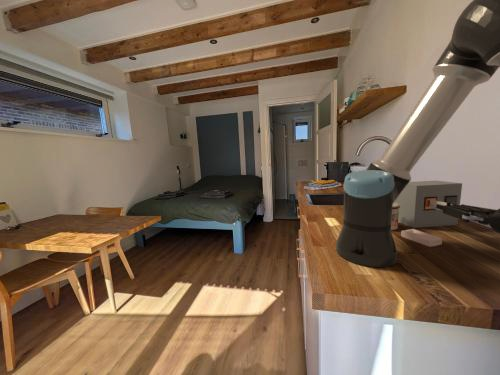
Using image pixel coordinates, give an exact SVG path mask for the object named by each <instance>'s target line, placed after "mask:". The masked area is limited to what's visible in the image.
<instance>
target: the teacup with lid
mask: <svg viewBox="0 0 500 375" xmlns="http://www.w3.org/2000/svg"><path fill="white" fill-rule="evenodd" d="M399 208H400V205H399V204H397V203H393V206H392V220H391V231H395V230H397V229H399V222H398V217H399Z"/></svg>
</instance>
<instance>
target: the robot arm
mask: <svg viewBox="0 0 500 375" xmlns="http://www.w3.org/2000/svg"><path fill="white" fill-rule="evenodd" d="M498 69H500V0H472V1H471V2H470V3H469V4H468V5H467V6H466V7H465V8H464V9H463V10H462V12H461V14H460V15H459V16H458V18H457V20H456V22H455V23H454V27H453V31H452V35H451V39H450V41H449V43H448V45H447V46H446V48H445V49H444V51H442V54H441V55H440V56H439V57H438V60H437V61H436V63H435V64H434V66H433V68H432V73H433V79H432V80H431V82H430V84H429V85H428V86H427V88H426V89H425V91H424V92H423V94H422V95H421V97H420V99H419V100H418V101H417V103H416V104H415V105H414V107H413V109H412V111H411V112H410V113H409V115H408V116H407V118H406V119H405V121H404V122H403V124H402V125H401V127H400V128H399V130H398V131H397V133H396V134H395V136H394V137H393V139H392V140H391V141H390V143H389V145H387V148H386V149H385V151H384V152H383V154H382V155H381V157H380V158H378V159H376V160H373V161H371V162H370V164H369V165H368V167H367V168H366V169H365V170H358V171H353V172H348V173H347V174H346V175H345V177H344V182H343V184H342V185H343V186H342V187H343V206H342V207H343V209H342V210H343V212H342V213H343V214H342V216H343V218H342V227H341V230H340V232H339V234H338V236H337V237H338V238H337V239H336V243H335V251H336V253H337V254H338V255H339V256H340V257H341V258H343V259H345V260H347V261H349V262H351V263H354V264H355V265H356V264H357V265H360V266H365V267H372V268H385V267H391V266H393V265H395V264H397V262H398V249H397V247H396V244H395V243H396V242H395V240H394V236H393V234H392V230H391V220H392V206H393V203H394V201H395V200H396V199H397V198H398V196H399V194H400V193H401V192H402V191H403V189H404V188H405V187H406V186H407V184H408V183H409V182H411V181H412V175H411V173H410V172H411V171H412V170H413V168H414V167H415V165H416V164H417V163H418V162H419V161H420V159H421V158H422V156H423V155H424V153H426V151H427V150H428V148H429V147H430V146H431V145H432V143H433V142H434V141H435V139H436V138H437V137H438V135H439V134H440V132H442V130H443V129H444V128H445V126H446V125H447V123H449V121H450V119H452V117H453V116H454V114H455V113H456V112H457V110H458V109H459V108H460V107H461V105H462V104H463V103H464V102H465V100H466V99H467V97H468V96H469V94H471V92H472V90H473V89H475V87H476V86H478V85H480V84H485V83H486V82H489V81H490V80H491V78H492V76H494V74H495V73H496V71H498ZM429 208H433V209H437V210H441V211H443V213H444V214H447V215H450V216H453V217H455V218H458V220H461V221H462V222H465V223H470V221H472V222H476V223H478V224H481V225H486V226H488V225H489V227H490V228H491V230H492V231H493V232H494V233H497V234H498V235H500V208H498V209H494V208H487V207H480V206H475V205H467V204H465V203H464V204H460V205H457V204H454V205H452V204H451V203H445V202H440V201H435V200H430V205H429Z"/></svg>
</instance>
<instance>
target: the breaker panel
mask: <svg viewBox="0 0 500 375" xmlns="http://www.w3.org/2000/svg"><path fill="white" fill-rule="evenodd" d="M462 190H463V183H462V182H461V183H460V182H453V181H443V180H421V181H418V180H417V181H410V182H409V183H408V184H407V186H406V187H405V188H404V189H403V191H402V192H401V193H400V194H399V196H398V198H397V199H396V200H395V201H394V203H397V204H399V205H400V208H399V217H398V223H400V224H403V225H405V226H407V227H410V228H412V229H417V228H431V227H443V226H458V225H459V219H458V218H455V217H453V216H450V215H447V214H444V213H443V211H441V210H437V209H424V197H433V198H436V201H440V202H445V203H451V204H452V205H454V204H457V205H461V198H462ZM457 224H458V225H457Z"/></svg>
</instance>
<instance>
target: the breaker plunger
mask: <svg viewBox="0 0 500 375" xmlns="http://www.w3.org/2000/svg"><path fill="white" fill-rule="evenodd" d="M430 200H435V201H436V198H433V197H424V209H433V208H429V205H430Z"/></svg>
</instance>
